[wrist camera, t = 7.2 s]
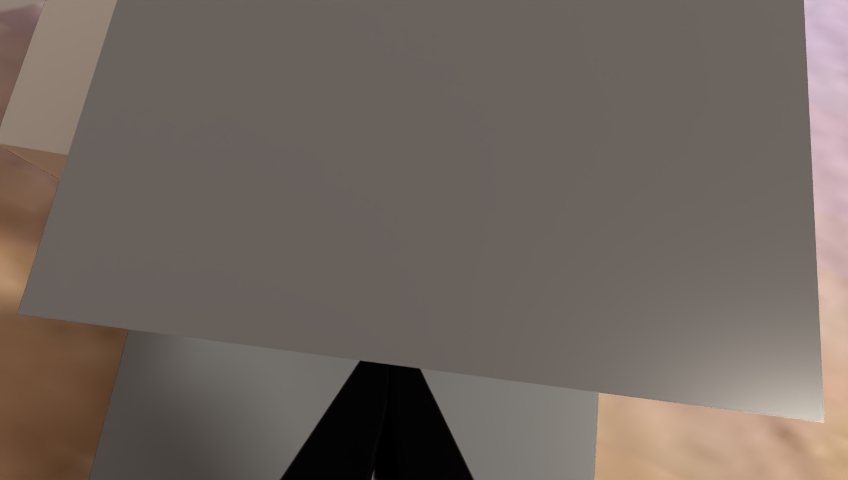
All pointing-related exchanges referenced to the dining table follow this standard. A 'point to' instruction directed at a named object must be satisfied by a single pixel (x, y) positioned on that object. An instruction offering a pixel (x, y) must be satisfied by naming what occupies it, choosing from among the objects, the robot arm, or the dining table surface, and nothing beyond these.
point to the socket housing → (250, 365)
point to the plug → (456, 190)
